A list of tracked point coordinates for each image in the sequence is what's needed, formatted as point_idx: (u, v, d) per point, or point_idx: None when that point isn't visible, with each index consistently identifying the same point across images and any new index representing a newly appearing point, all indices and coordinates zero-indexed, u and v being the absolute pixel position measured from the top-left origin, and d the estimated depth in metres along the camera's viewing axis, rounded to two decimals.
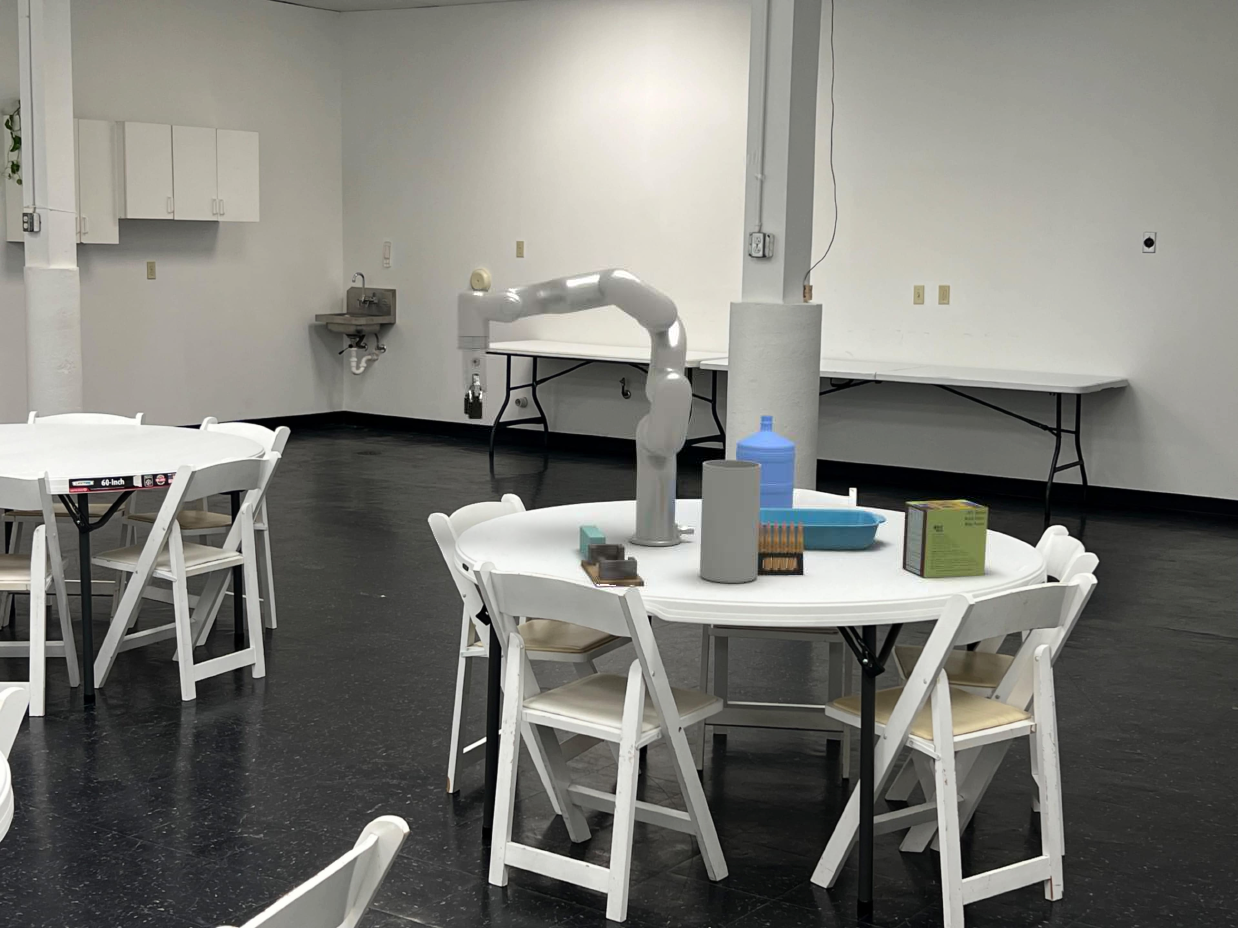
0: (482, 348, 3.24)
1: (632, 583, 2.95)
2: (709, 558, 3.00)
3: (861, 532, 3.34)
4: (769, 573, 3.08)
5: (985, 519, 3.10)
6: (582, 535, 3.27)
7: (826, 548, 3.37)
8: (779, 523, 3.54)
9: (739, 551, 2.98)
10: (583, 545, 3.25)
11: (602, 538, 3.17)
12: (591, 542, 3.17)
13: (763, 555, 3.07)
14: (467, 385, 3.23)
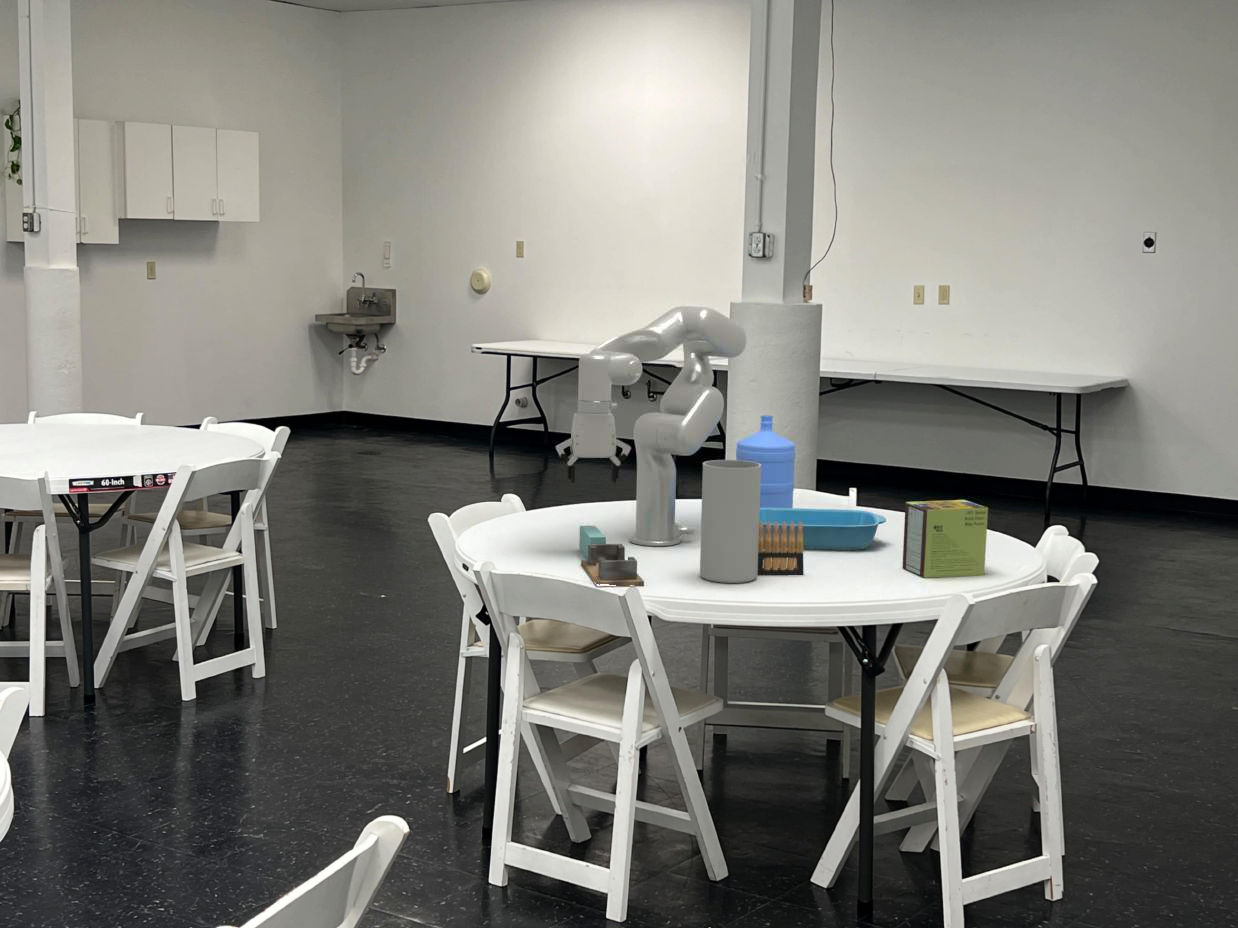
0: None
1: (632, 583, 2.95)
2: (709, 558, 3.00)
3: (860, 532, 3.34)
4: (769, 573, 3.08)
5: (985, 519, 3.10)
6: (582, 535, 3.27)
7: (825, 548, 3.37)
8: (780, 523, 3.55)
9: (739, 551, 2.98)
10: (583, 545, 3.25)
11: (602, 538, 3.17)
12: (591, 542, 3.17)
13: (763, 555, 3.07)
14: (615, 449, 3.20)
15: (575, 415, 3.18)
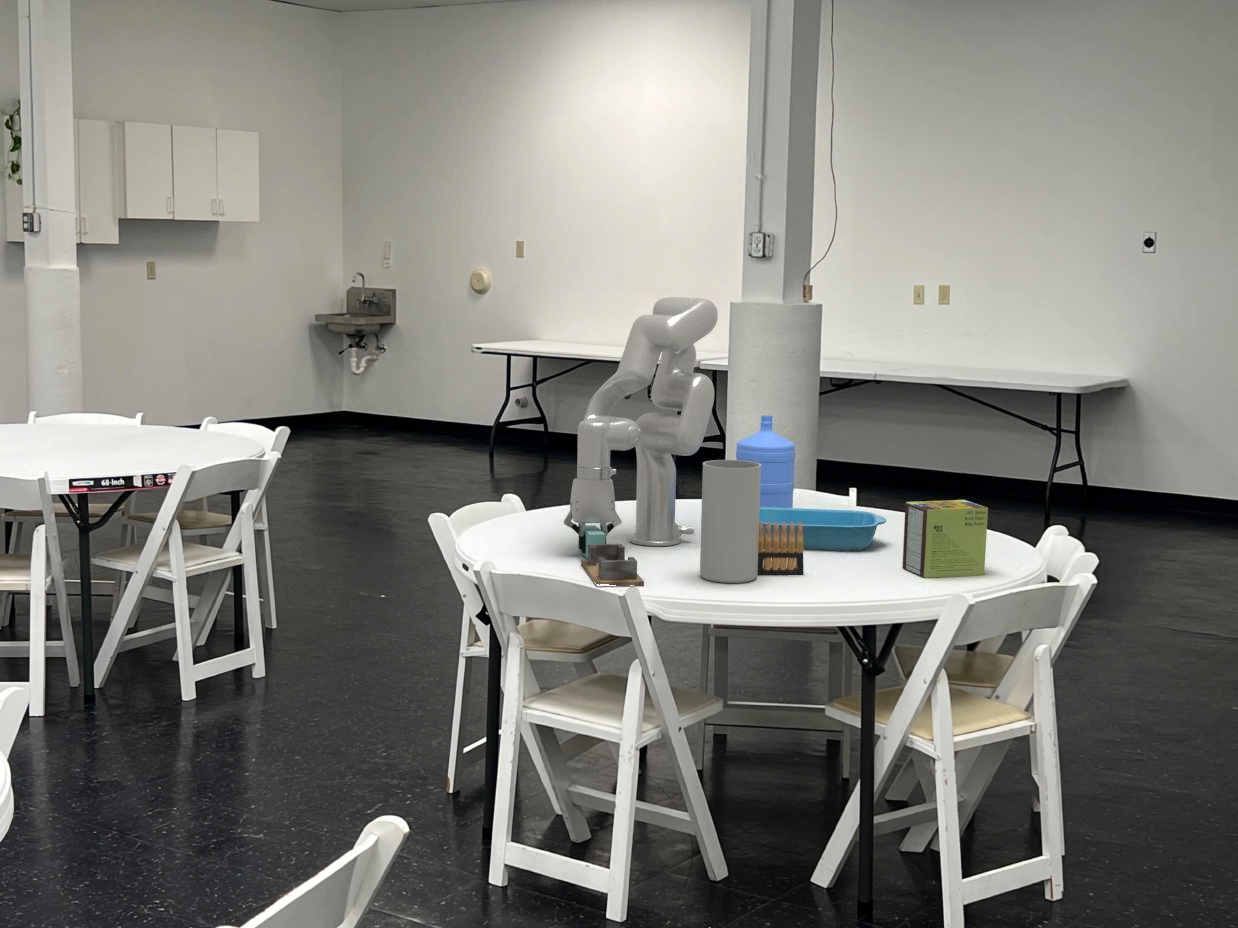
0: None
1: (632, 583, 2.95)
2: (709, 558, 3.00)
3: (857, 533, 3.33)
4: (769, 573, 3.08)
5: (985, 519, 3.10)
6: None
7: (823, 548, 3.36)
8: None
9: (739, 551, 2.98)
10: None
11: (602, 535, 3.17)
12: (591, 539, 3.16)
13: (763, 555, 3.07)
14: (614, 514, 3.22)
15: (574, 481, 3.21)
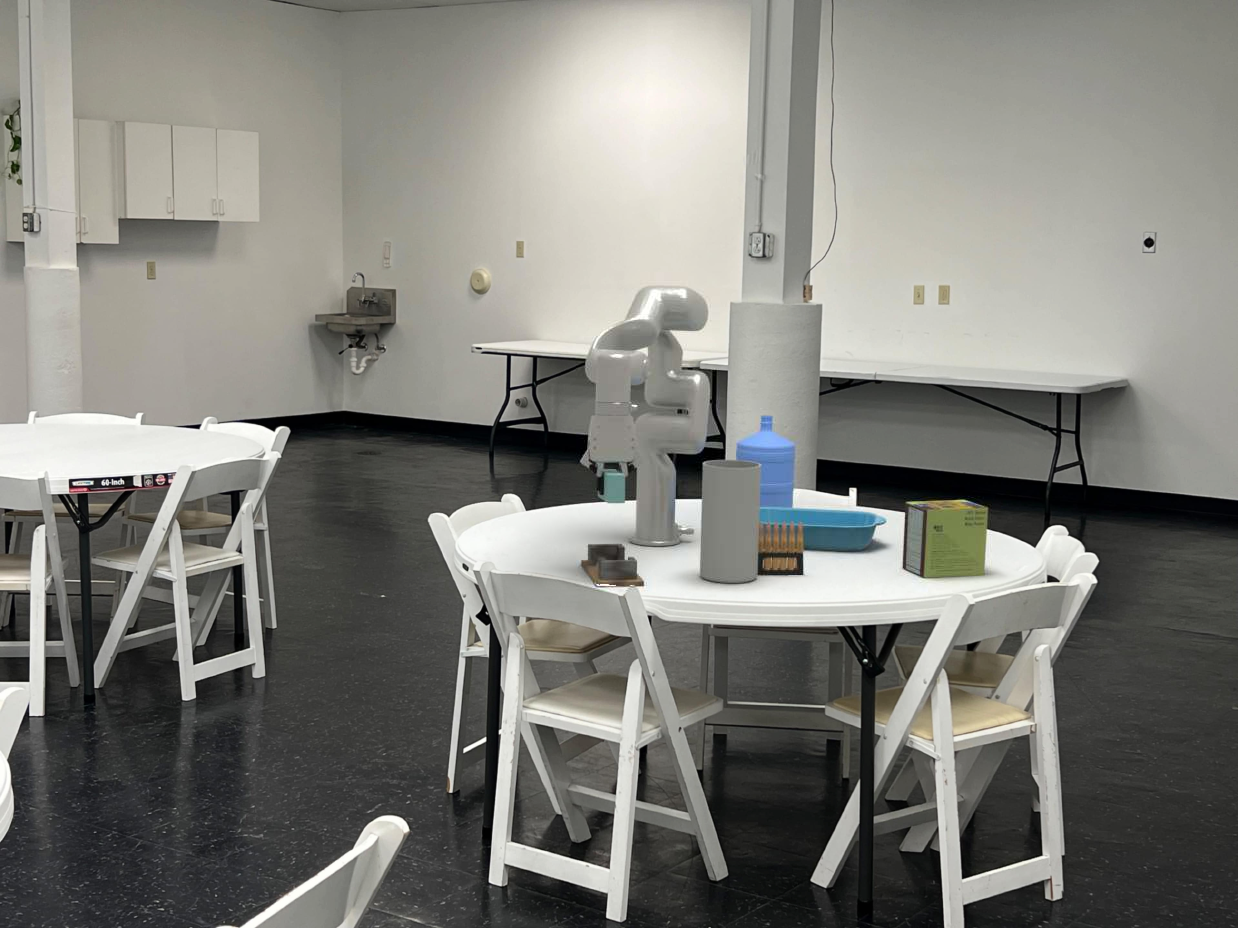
0: None
1: (632, 583, 2.95)
2: (709, 558, 3.00)
3: (854, 533, 3.32)
4: (769, 573, 3.08)
5: (985, 519, 3.10)
6: None
7: (820, 549, 3.36)
8: (786, 522, 3.55)
9: (739, 551, 2.98)
10: None
11: (621, 476, 2.96)
12: (610, 480, 2.96)
13: (763, 555, 3.07)
14: (634, 454, 3.01)
15: (592, 417, 3.00)
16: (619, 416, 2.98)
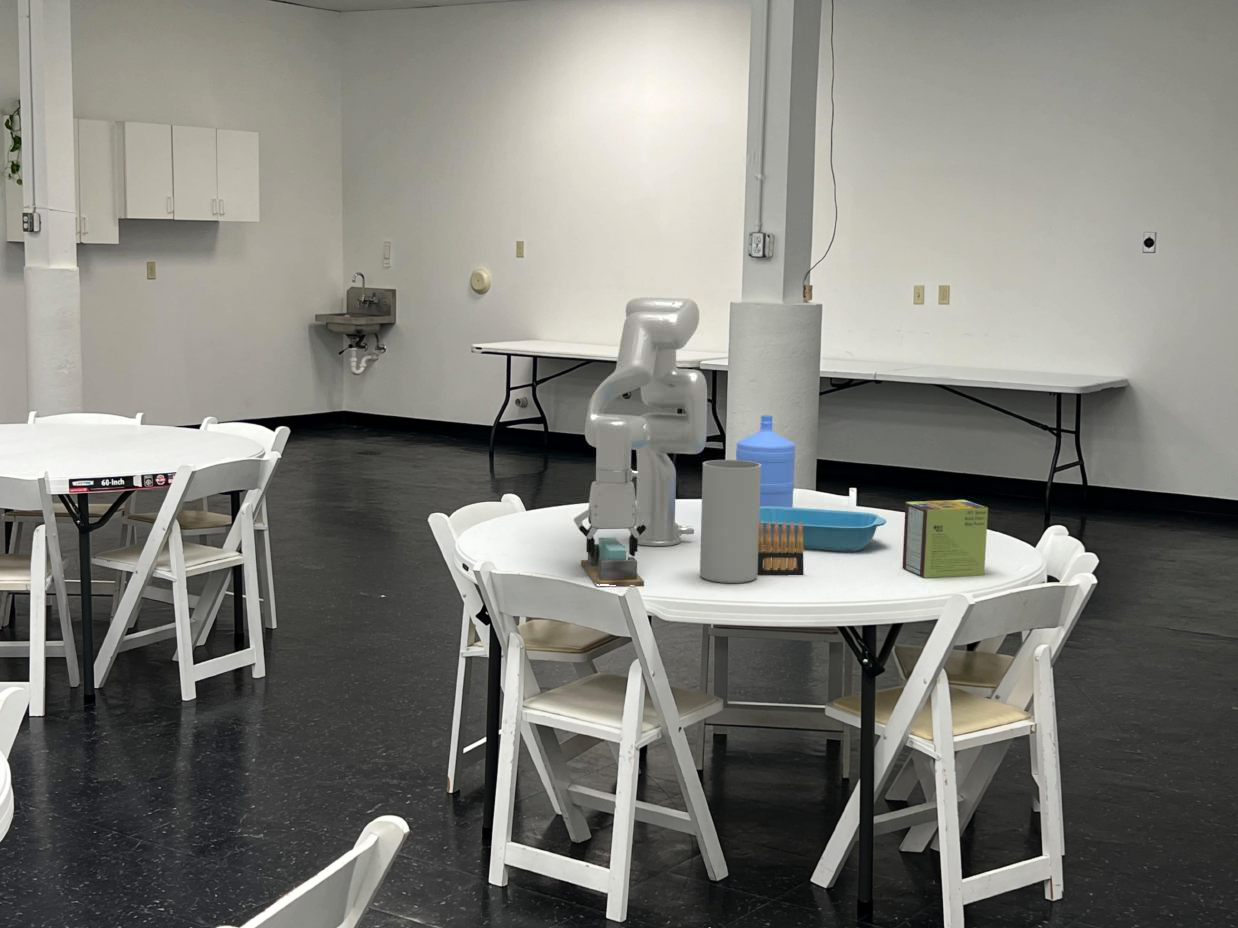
0: None
1: (632, 583, 2.95)
2: (709, 558, 3.00)
3: (849, 534, 3.31)
4: (769, 573, 3.08)
5: (985, 519, 3.10)
6: (601, 548, 3.07)
7: (817, 549, 3.36)
8: (790, 522, 3.56)
9: (739, 551, 2.98)
10: None
11: (623, 551, 2.97)
12: (611, 555, 2.97)
13: (763, 555, 3.07)
14: (635, 520, 3.02)
15: (593, 484, 3.01)
16: (620, 483, 2.99)
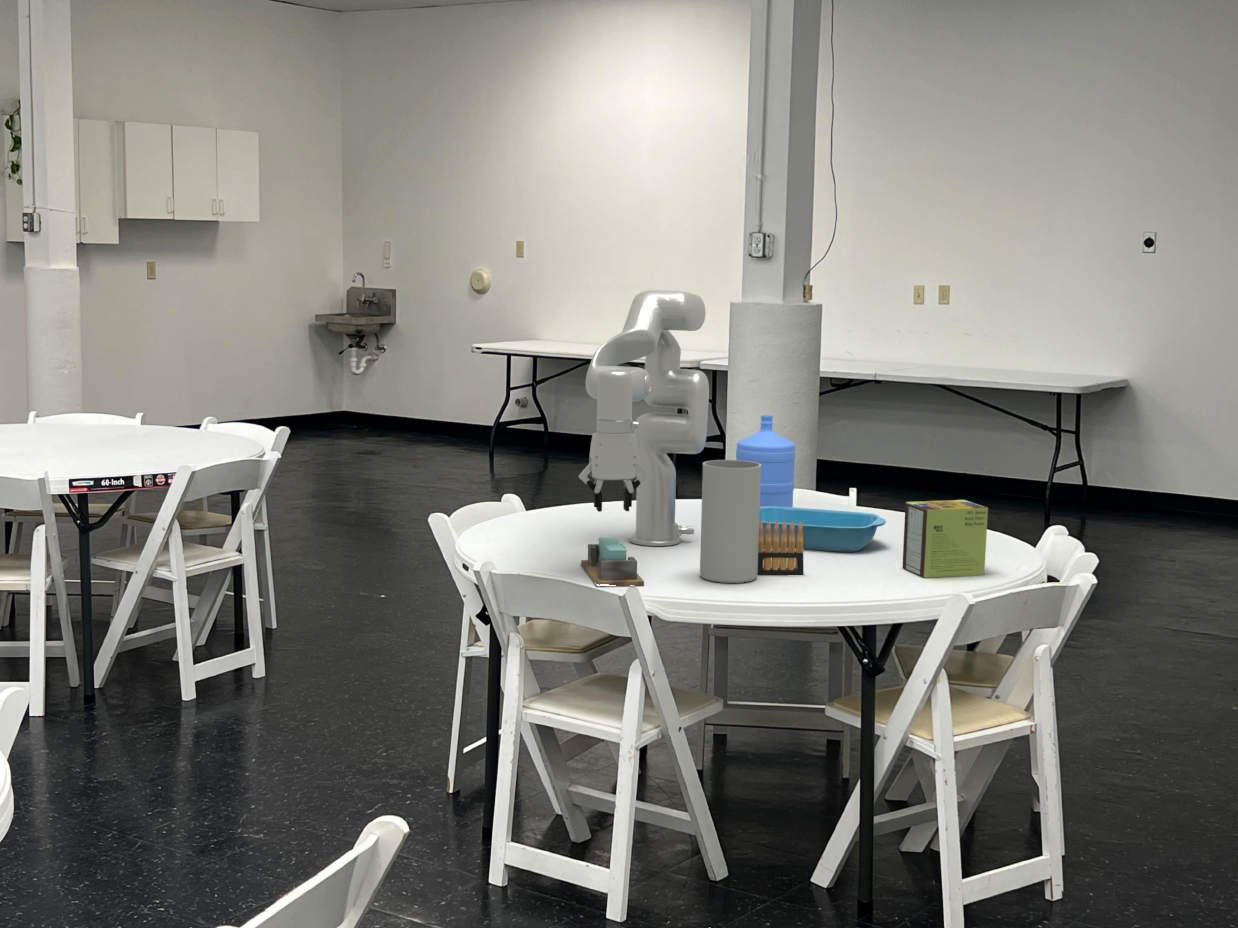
0: None
1: (632, 583, 2.95)
2: (709, 558, 3.00)
3: (847, 534, 3.31)
4: (769, 573, 3.08)
5: (985, 519, 3.10)
6: (601, 548, 3.07)
7: (815, 549, 3.36)
8: None
9: (739, 551, 2.98)
10: None
11: (623, 551, 2.97)
12: (611, 555, 2.97)
13: (763, 555, 3.07)
14: (636, 471, 3.01)
15: (594, 435, 2.99)
16: (621, 434, 2.97)
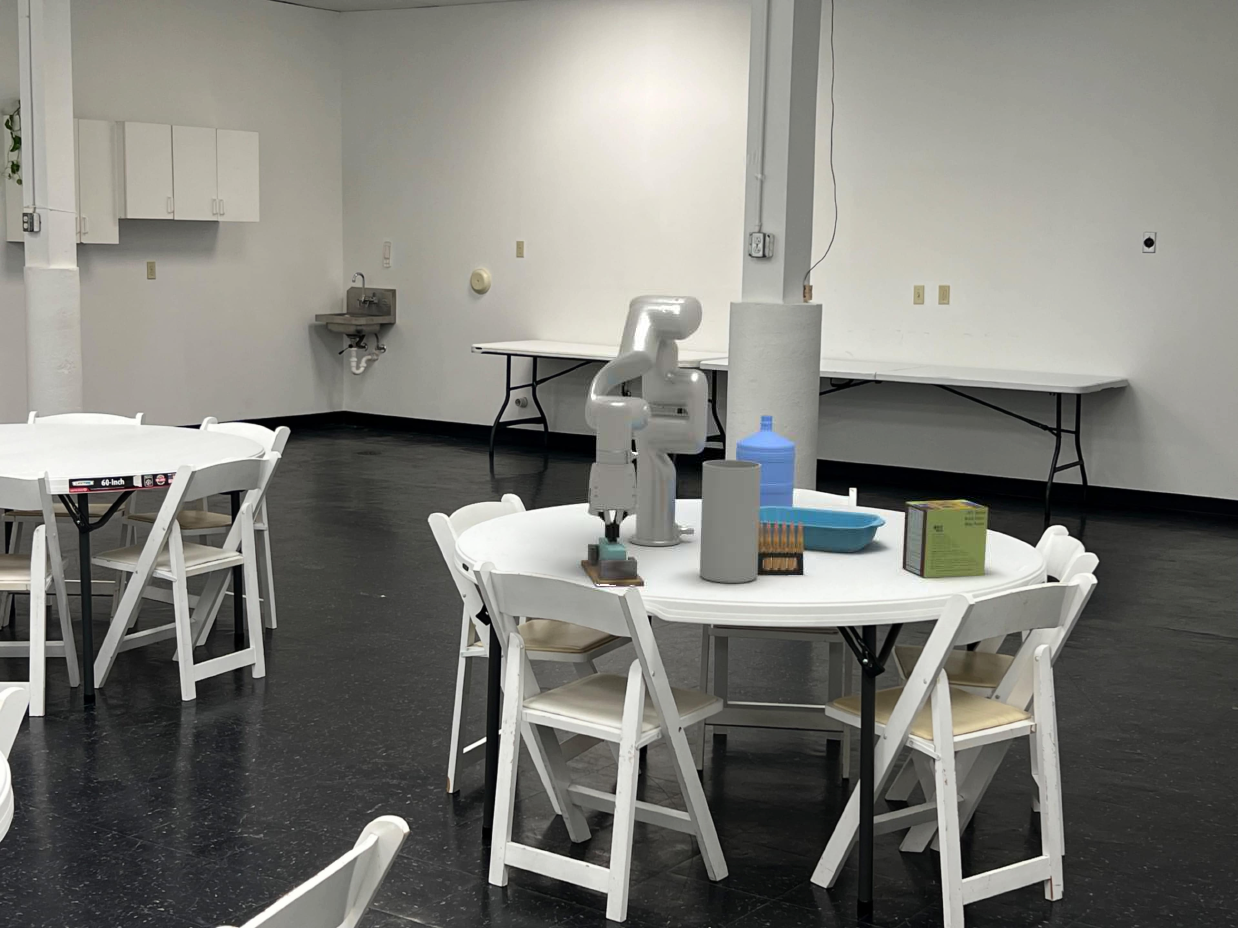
0: None
1: (632, 583, 2.95)
2: (709, 558, 3.00)
3: (844, 534, 3.31)
4: (769, 573, 3.08)
5: (985, 519, 3.10)
6: (601, 548, 3.07)
7: (813, 549, 3.36)
8: (794, 522, 3.56)
9: (739, 551, 2.98)
10: None
11: (623, 551, 2.97)
12: (611, 555, 2.97)
13: (763, 555, 3.07)
14: (635, 501, 3.02)
15: (593, 465, 3.00)
16: (620, 464, 2.98)
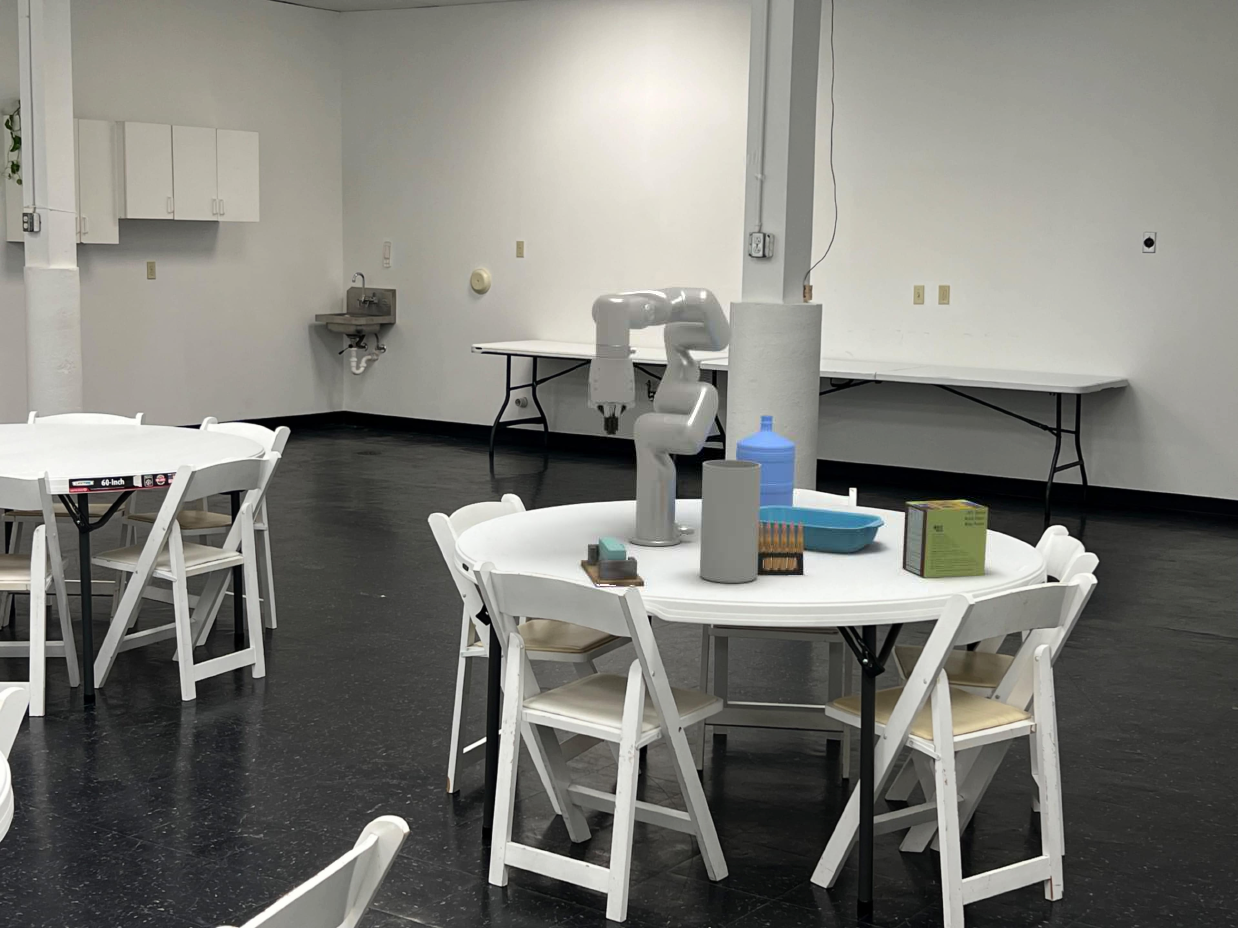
0: None
1: (632, 583, 2.95)
2: (709, 558, 3.00)
3: (839, 535, 3.30)
4: (769, 573, 3.08)
5: (985, 519, 3.10)
6: (601, 548, 3.07)
7: (809, 549, 3.36)
8: None
9: (739, 551, 2.98)
10: None
11: (623, 551, 2.97)
12: (611, 555, 2.97)
13: (763, 555, 3.07)
14: (633, 395, 3.14)
15: (593, 360, 3.12)
16: (619, 358, 3.10)
